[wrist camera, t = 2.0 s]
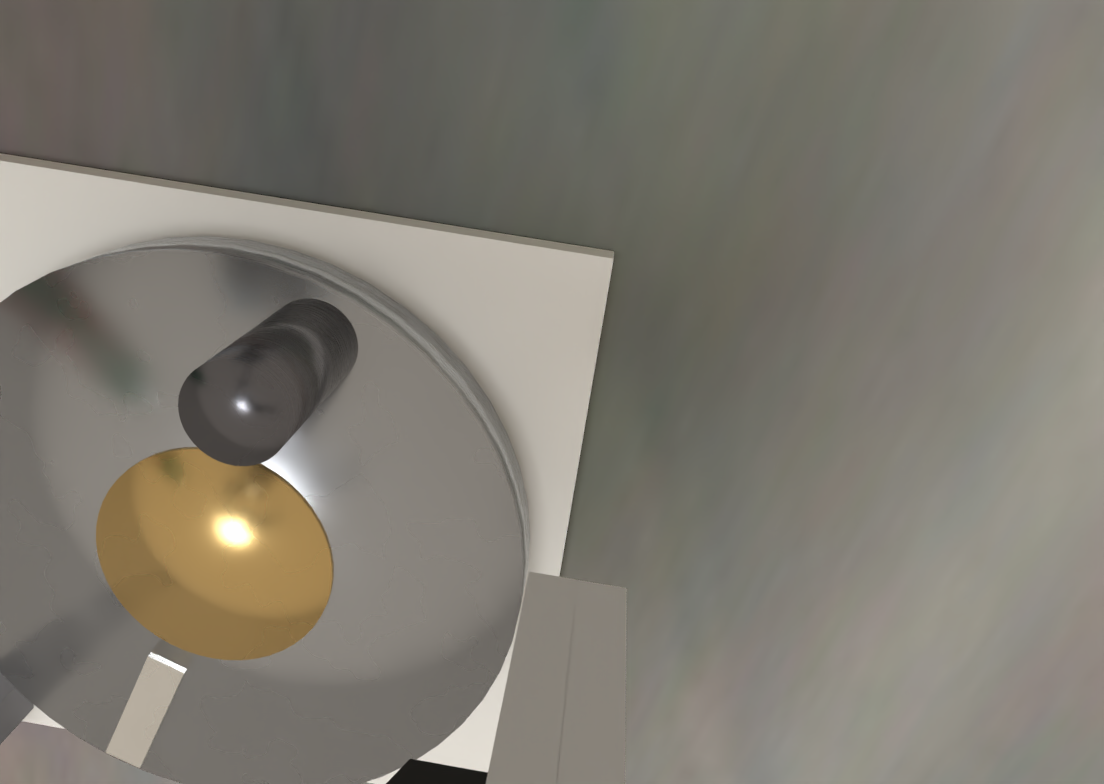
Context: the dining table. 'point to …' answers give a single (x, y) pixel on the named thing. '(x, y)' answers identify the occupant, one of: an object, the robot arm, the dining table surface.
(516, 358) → the base plate
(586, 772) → the robot arm
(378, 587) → the turntable
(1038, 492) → the dining table surface
